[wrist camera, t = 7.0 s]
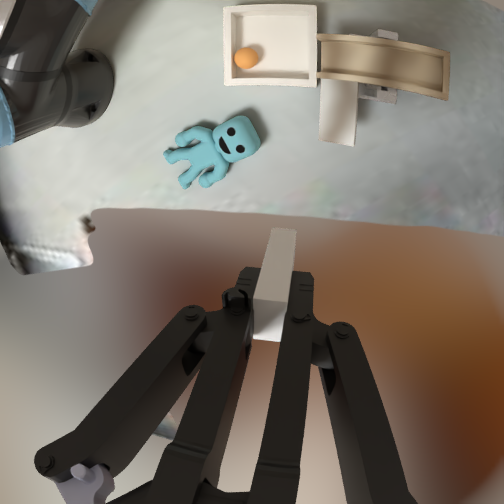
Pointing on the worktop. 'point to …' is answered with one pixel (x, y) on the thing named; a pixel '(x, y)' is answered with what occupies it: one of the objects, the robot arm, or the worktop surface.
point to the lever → (372, 77)
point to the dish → (271, 44)
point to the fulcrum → (374, 90)
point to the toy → (214, 149)
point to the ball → (246, 58)
